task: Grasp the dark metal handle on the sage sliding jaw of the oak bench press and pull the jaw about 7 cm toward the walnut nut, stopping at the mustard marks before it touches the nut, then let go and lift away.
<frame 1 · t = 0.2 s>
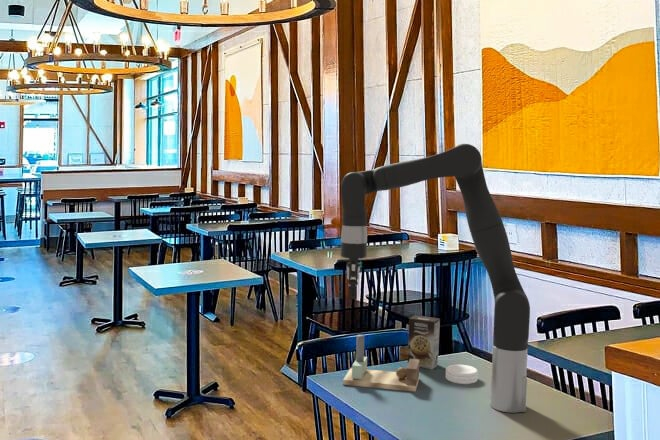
hand: (352, 296, 182), 28 cm above the table, fingers open, 8 cm apart
coffee box: (422, 365, 210), on the table
jaw: (360, 354, 193), point 8 cm above the table, slide at 0.0 cm
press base: (381, 381, 192), on the table
white bowl: (461, 380, 197), on the table
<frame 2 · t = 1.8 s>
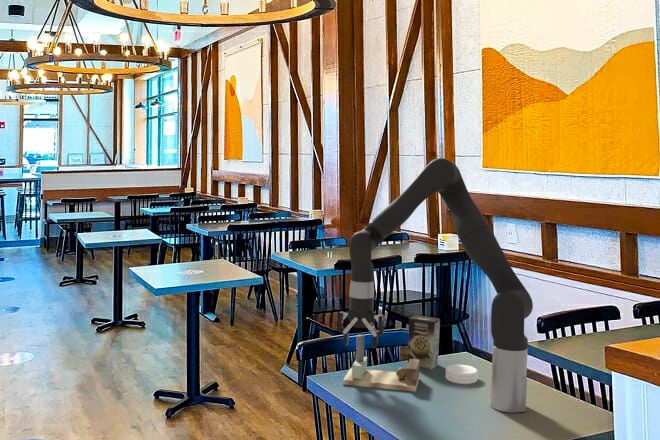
hand: (360, 346, 193), 10 cm above the table, fingers open, 8 cm apart
nothing on the table moved.
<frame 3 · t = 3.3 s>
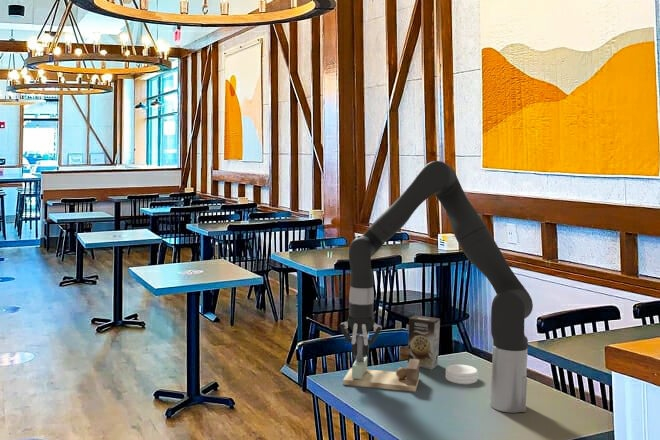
hand: (360, 355, 193), 8 cm above the table, fingers closed on jaw, 2 cm apart
jaw: (360, 354, 193), point 8 cm above the table, slide at 0.0 cm, touching gripper
everything else where it was.
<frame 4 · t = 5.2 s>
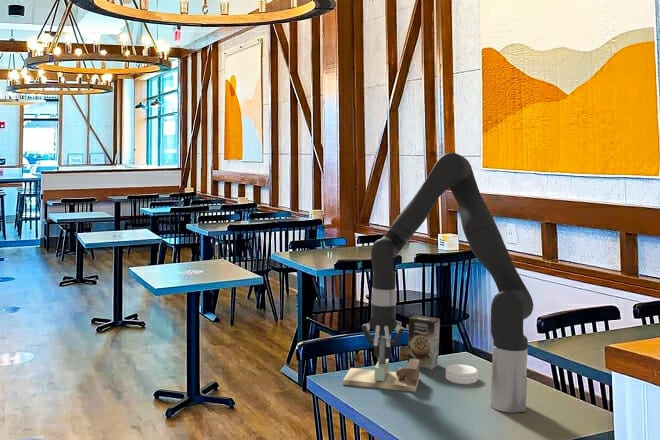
hand: (382, 357, 192), 8 cm above the table, fingers closed on jaw, 2 cm apart
jaw: (382, 356, 192), point 8 cm above the table, slide at 6.9 cm, touching gripper
everything else where it was.
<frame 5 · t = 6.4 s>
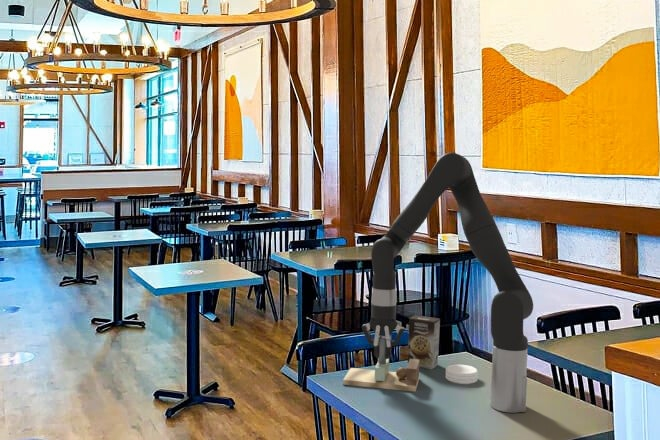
hand: (382, 357, 192), 8 cm above the table, fingers closed
jaw: (382, 356, 192), point 8 cm above the table, slide at 7.0 cm
everything else where it was.
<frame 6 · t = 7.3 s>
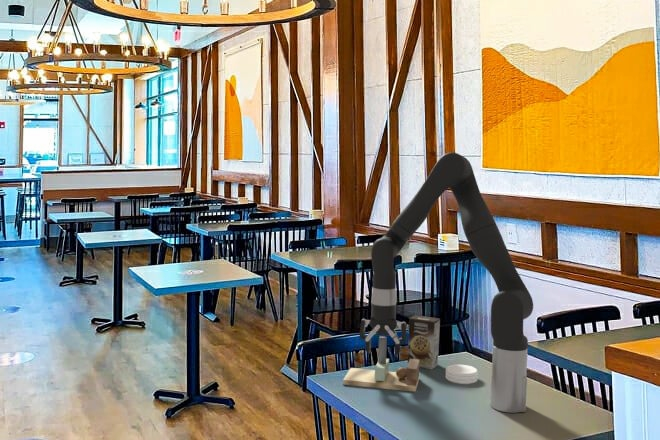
hand: (382, 354, 192), 9 cm above the table, fingers open, 8 cm apart
nothing on the table moved.
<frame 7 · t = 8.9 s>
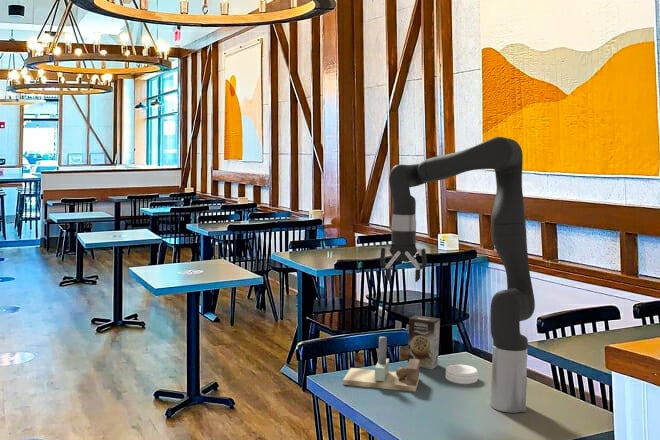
hand: (402, 280, 194), 31 cm above the table, fingers open, 8 cm apart
nothing on the table moved.
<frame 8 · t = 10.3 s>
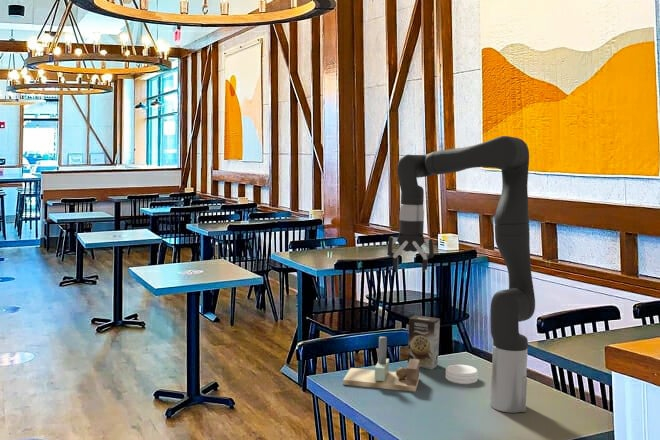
hand: (410, 270, 195), 34 cm above the table, fingers open, 8 cm apart
nothing on the table moved.
at the end: jaw slide at 7.0 cm; the gripper is holding nothing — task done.
